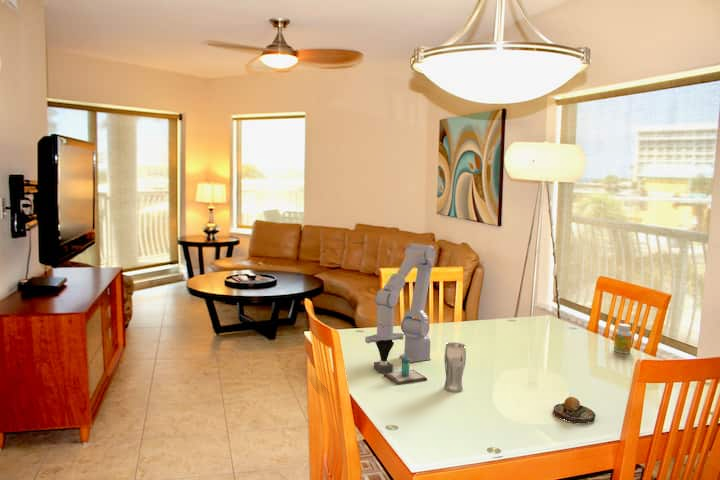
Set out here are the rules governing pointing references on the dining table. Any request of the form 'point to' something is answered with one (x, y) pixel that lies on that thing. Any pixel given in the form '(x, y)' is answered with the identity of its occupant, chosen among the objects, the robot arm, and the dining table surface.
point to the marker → (405, 367)
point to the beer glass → (454, 366)
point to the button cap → (383, 362)
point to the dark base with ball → (574, 411)
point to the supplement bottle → (623, 339)
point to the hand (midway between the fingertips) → (383, 360)
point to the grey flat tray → (400, 379)
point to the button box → (383, 367)
